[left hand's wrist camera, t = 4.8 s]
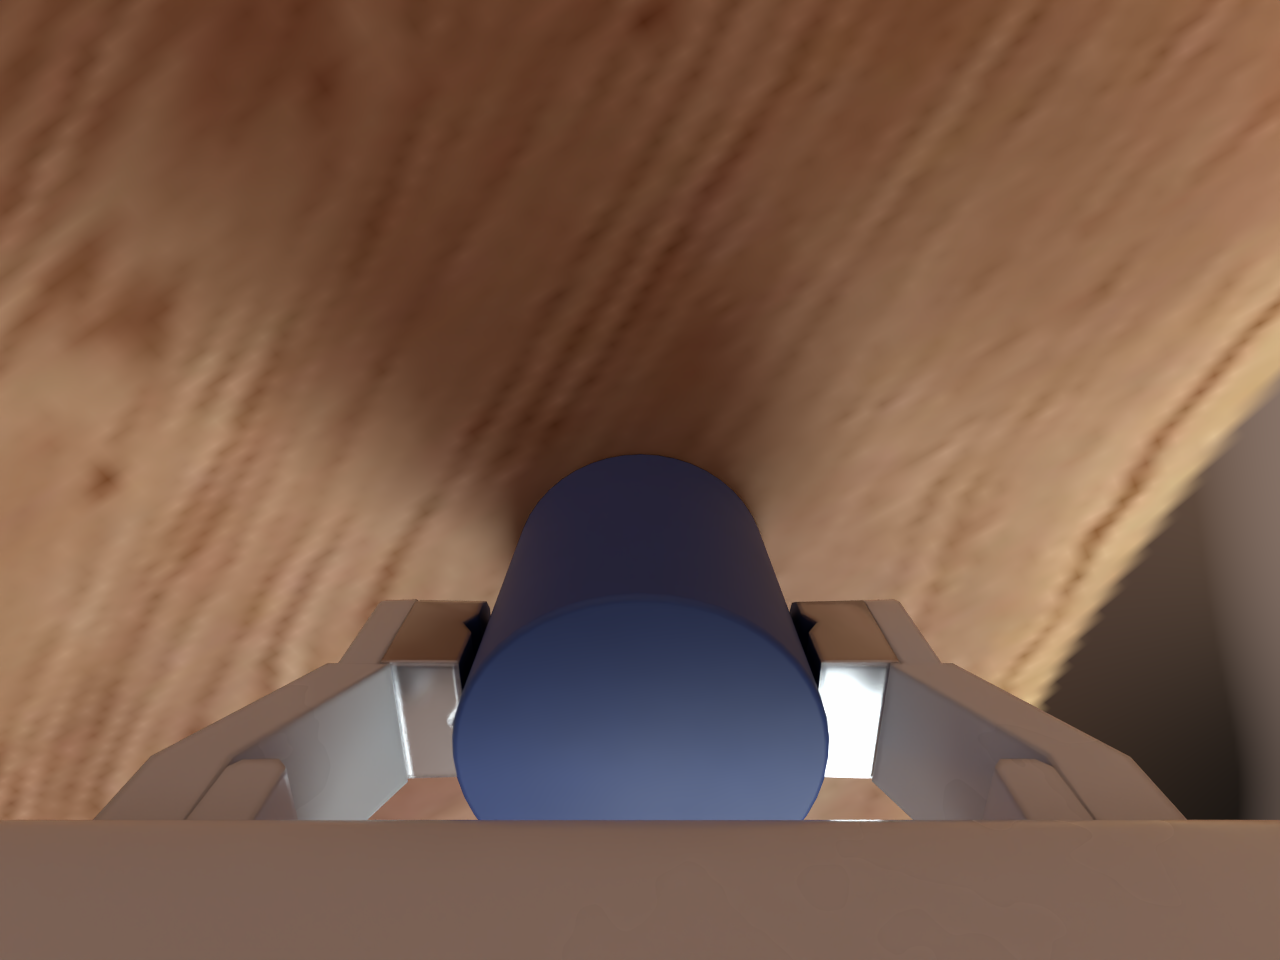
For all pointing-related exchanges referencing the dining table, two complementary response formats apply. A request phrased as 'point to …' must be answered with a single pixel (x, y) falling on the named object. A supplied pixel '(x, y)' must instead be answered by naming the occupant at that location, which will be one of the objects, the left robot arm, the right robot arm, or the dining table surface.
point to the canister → (640, 662)
